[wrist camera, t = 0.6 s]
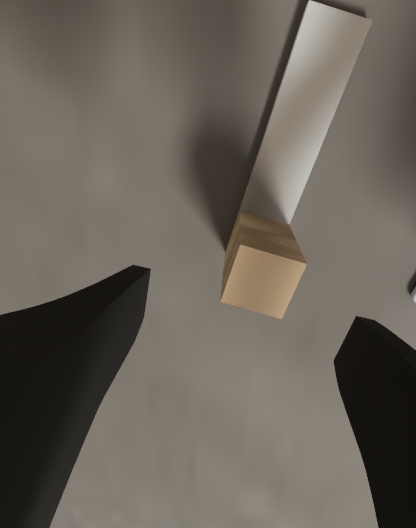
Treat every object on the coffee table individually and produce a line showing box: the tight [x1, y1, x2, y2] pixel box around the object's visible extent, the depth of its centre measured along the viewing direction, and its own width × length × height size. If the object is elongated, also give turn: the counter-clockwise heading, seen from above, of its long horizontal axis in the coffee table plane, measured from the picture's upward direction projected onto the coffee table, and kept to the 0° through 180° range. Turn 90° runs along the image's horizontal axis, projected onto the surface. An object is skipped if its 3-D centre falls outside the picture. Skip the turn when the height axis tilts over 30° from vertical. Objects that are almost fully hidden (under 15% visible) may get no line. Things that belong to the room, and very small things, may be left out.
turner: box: [220, 0, 373, 319], centre depth 15 cm, size 3×13×6 cm, turn 165°
